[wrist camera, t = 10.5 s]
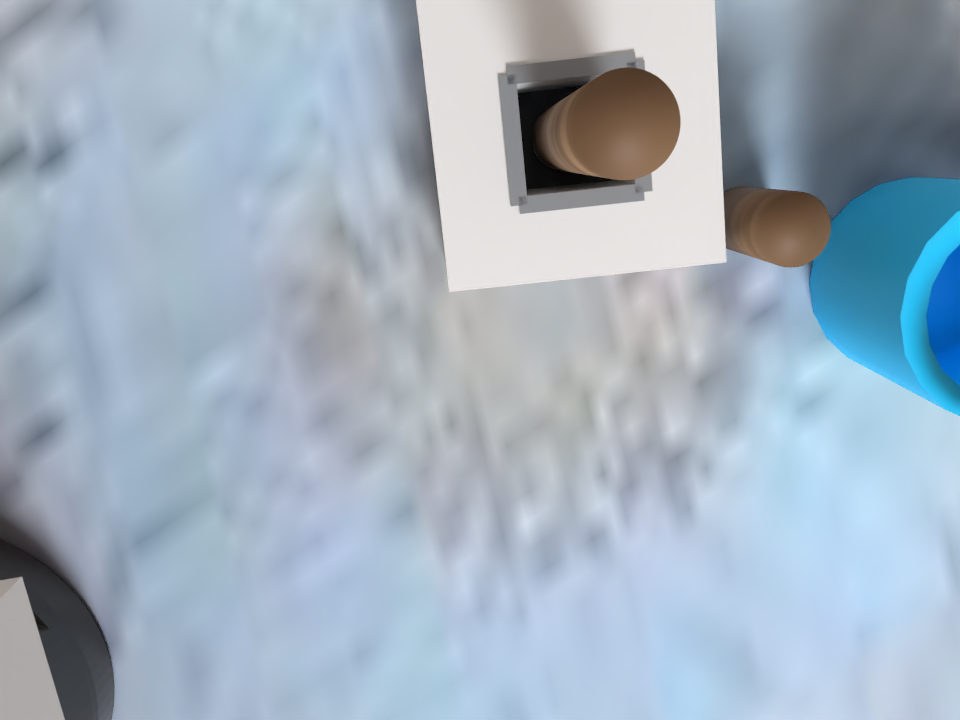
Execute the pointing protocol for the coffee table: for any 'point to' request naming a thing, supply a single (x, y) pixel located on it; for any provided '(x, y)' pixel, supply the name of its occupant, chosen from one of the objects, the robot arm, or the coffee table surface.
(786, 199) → the short dowel
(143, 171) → the coffee table surface
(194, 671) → the coffee table surface
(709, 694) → the coffee table surface
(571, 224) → the hole block
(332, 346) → the coffee table surface
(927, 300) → the mug
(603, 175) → the long dowel
